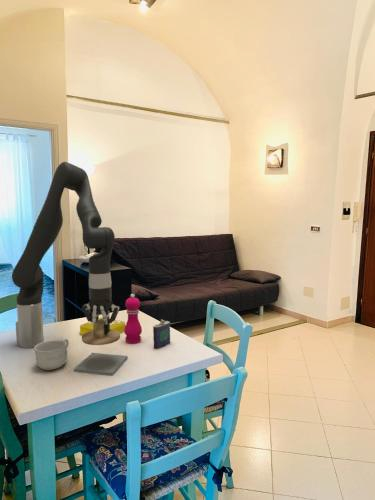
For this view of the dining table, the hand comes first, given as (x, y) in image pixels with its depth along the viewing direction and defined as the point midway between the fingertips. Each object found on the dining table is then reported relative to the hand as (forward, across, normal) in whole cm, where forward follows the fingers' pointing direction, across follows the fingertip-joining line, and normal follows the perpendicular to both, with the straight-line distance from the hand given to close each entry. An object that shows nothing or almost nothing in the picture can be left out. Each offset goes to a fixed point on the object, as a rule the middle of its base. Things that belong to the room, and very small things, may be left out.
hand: (101, 333), depth 131 cm
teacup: (+12, -16, -4) cm, 20 cm away
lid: (+2, 0, 0) cm, 2 cm away
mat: (+12, 0, 0) cm, 12 cm away
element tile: (+12, -14, +31) cm, 36 cm away
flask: (+12, +16, +22) cm, 29 cm away
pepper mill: (+12, +3, +24) cm, 27 cm away
